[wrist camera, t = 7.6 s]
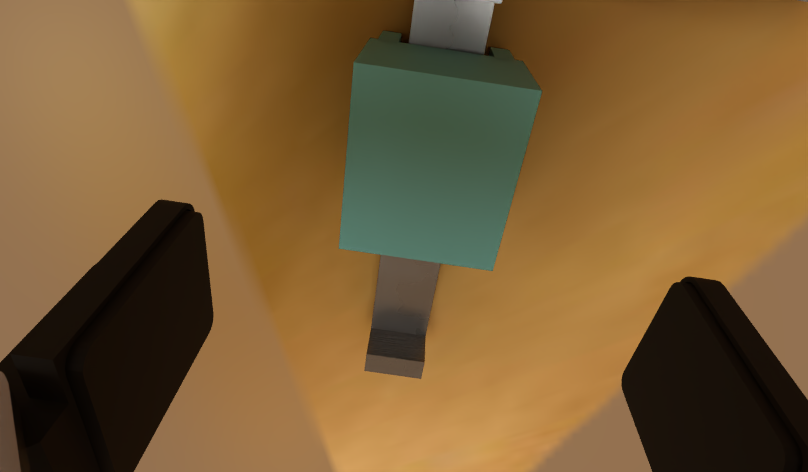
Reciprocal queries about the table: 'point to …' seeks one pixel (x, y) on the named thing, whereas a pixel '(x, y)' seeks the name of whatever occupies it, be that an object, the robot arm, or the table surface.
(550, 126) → the table surface
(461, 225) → the carriage
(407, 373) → the rail
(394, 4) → the table surface
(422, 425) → the table surface
